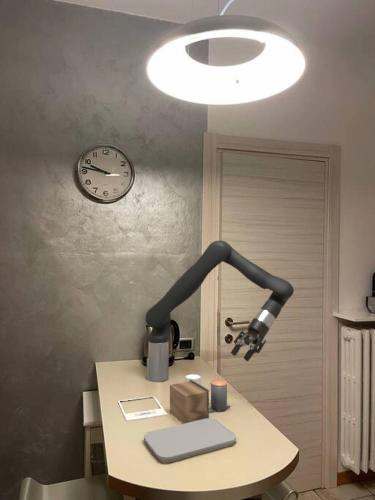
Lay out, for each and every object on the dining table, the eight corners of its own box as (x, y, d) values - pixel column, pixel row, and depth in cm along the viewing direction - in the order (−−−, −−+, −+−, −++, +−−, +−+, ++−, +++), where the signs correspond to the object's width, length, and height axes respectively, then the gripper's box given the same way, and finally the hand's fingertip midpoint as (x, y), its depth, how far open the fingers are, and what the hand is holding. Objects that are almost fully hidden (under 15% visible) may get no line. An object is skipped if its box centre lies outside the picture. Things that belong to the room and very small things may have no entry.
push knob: (220, 402, 142) (220, 378, 142) (230, 407, 137) (230, 383, 137) (207, 405, 139) (207, 380, 139) (216, 411, 134) (216, 385, 134)
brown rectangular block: (218, 400, 145) (218, 373, 146) (237, 412, 135) (237, 383, 135) (169, 412, 135) (169, 383, 135) (186, 426, 124) (186, 394, 124)
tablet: (140, 440, 116) (140, 433, 116) (212, 423, 127) (212, 416, 127) (160, 467, 101) (161, 459, 101) (240, 445, 113) (240, 438, 113)
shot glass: (181, 394, 152) (181, 377, 152) (189, 389, 158) (189, 372, 158) (197, 397, 148) (197, 380, 149) (204, 392, 155) (204, 375, 155)
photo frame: (126, 420, 127) (117, 400, 144) (126, 423, 127) (117, 403, 144) (167, 413, 132) (154, 395, 149) (167, 416, 132) (154, 398, 149)
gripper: (245, 315, 153) (222, 347, 147) (267, 320, 140) (243, 355, 135) (256, 326, 155) (234, 358, 150) (279, 332, 142) (256, 367, 137)
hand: (238, 357), depth 142 cm, fingers open, 8 cm apart
